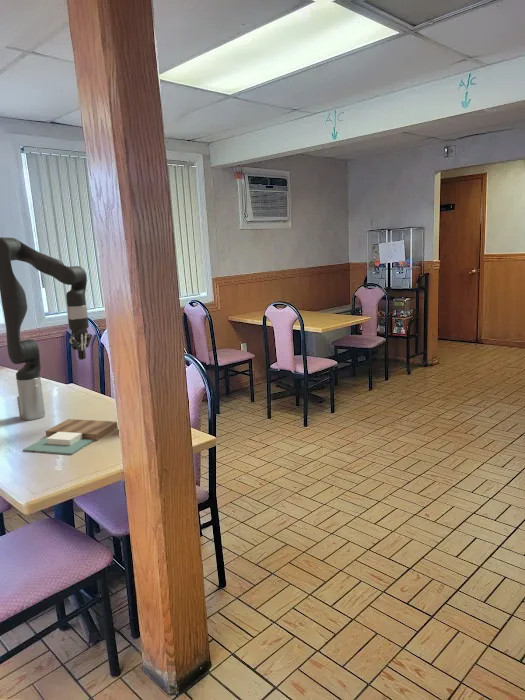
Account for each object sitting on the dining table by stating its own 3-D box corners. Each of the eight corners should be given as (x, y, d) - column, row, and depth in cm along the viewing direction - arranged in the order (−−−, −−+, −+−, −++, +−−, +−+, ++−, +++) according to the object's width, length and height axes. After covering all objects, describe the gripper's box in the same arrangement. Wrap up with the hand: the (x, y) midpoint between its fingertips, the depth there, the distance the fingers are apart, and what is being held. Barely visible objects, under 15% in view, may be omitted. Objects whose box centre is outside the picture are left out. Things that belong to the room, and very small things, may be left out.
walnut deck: (46, 437, 195) (45, 431, 195) (69, 424, 208) (68, 419, 208) (96, 440, 189) (96, 434, 189) (117, 427, 202) (116, 421, 202)
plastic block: (46, 443, 187) (46, 438, 186) (59, 436, 193) (58, 431, 193) (70, 445, 184) (69, 440, 184) (82, 438, 191) (81, 433, 190)
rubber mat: (23, 451, 182) (22, 449, 182) (47, 437, 194) (47, 436, 194) (71, 454, 177) (71, 453, 176) (93, 441, 189) (93, 439, 189)
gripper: (80, 314, 213) (84, 355, 217) (59, 319, 201) (63, 362, 205) (95, 314, 211) (99, 356, 215) (75, 319, 199) (80, 363, 202)
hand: (82, 359), depth 210 cm, fingers closed
